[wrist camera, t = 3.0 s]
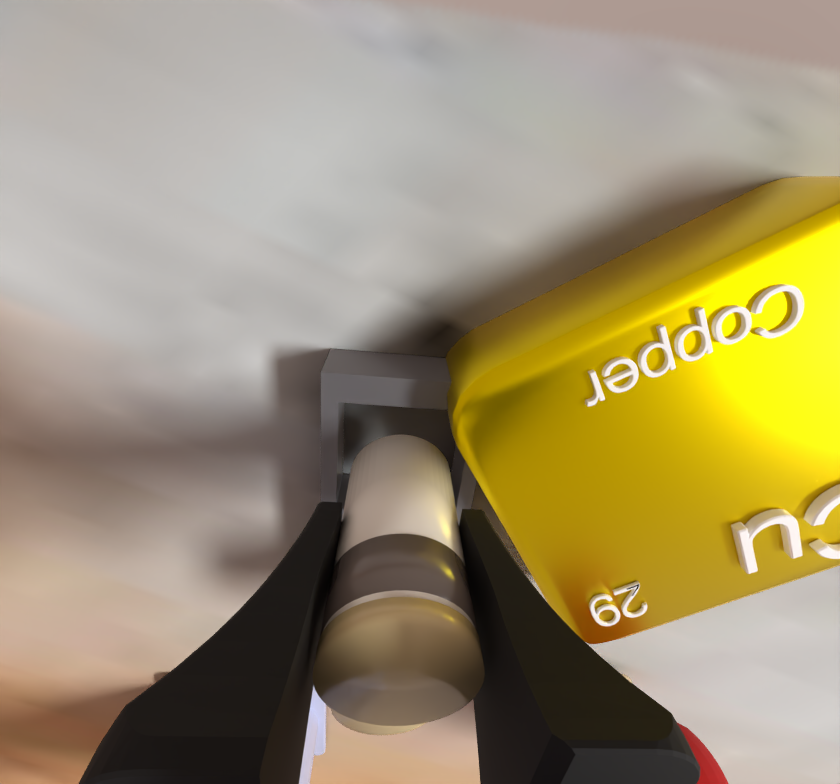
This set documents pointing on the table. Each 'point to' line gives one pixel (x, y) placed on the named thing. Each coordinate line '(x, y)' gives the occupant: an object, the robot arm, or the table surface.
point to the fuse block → (387, 386)
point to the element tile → (669, 416)
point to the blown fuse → (399, 594)
